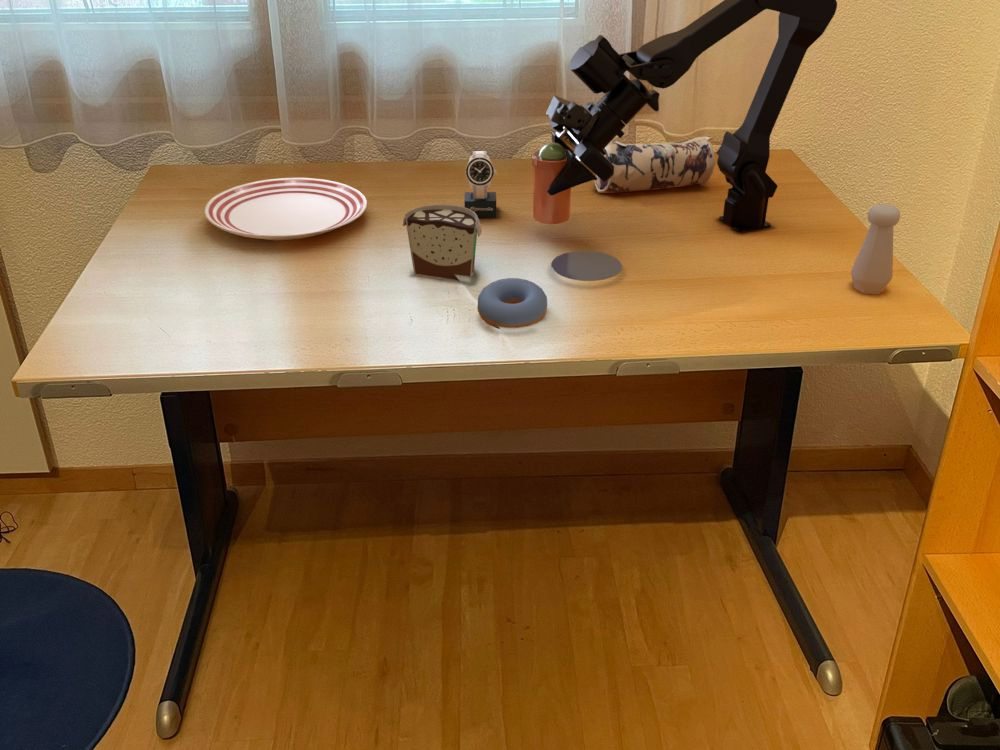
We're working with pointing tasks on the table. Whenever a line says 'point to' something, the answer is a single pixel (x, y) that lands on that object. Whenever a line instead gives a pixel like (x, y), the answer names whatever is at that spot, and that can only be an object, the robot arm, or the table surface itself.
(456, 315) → the table surface
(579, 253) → the saucer
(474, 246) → the food container
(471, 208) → the watch
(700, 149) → the pencil case
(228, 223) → the dinner plate
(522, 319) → the doughnut
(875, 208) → the salt shaker
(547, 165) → the plant pot
